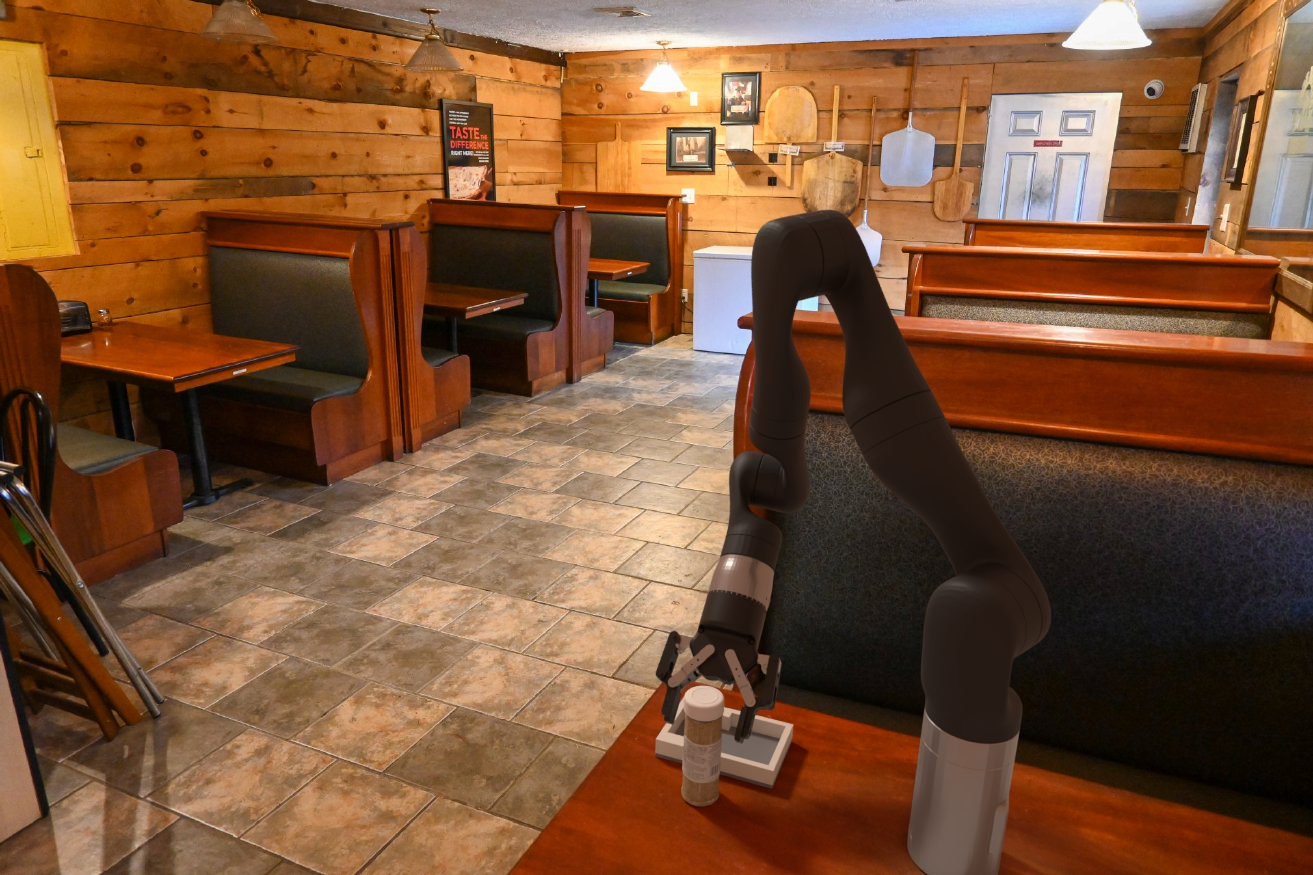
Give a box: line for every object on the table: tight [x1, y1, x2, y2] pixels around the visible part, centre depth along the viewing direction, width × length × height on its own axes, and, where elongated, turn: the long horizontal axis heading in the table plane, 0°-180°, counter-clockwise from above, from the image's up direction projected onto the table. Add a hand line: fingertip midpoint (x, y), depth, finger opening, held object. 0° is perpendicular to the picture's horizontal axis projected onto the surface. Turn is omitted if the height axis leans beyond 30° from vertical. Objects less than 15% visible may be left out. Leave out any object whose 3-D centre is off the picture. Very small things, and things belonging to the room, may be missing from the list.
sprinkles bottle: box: [680, 685, 725, 807], centre depth 99 cm, size 5×5×13 cm
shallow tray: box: [654, 696, 794, 790], centre depth 109 cm, size 15×10×2 cm, turn 68°
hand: (703, 732), depth 99 cm, fingers open, 8 cm apart
